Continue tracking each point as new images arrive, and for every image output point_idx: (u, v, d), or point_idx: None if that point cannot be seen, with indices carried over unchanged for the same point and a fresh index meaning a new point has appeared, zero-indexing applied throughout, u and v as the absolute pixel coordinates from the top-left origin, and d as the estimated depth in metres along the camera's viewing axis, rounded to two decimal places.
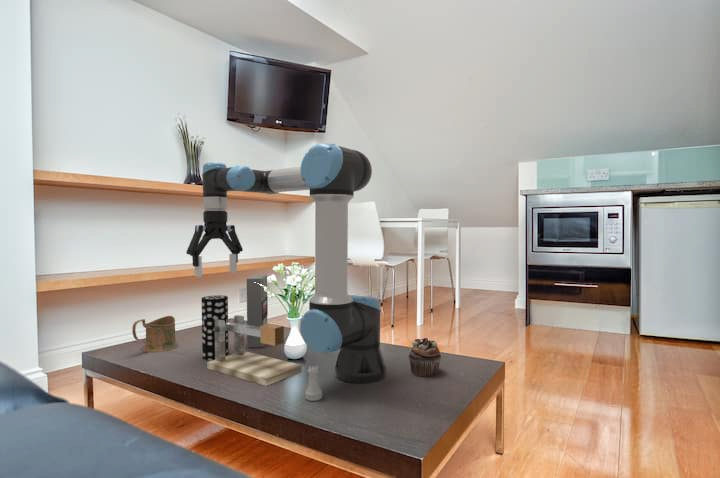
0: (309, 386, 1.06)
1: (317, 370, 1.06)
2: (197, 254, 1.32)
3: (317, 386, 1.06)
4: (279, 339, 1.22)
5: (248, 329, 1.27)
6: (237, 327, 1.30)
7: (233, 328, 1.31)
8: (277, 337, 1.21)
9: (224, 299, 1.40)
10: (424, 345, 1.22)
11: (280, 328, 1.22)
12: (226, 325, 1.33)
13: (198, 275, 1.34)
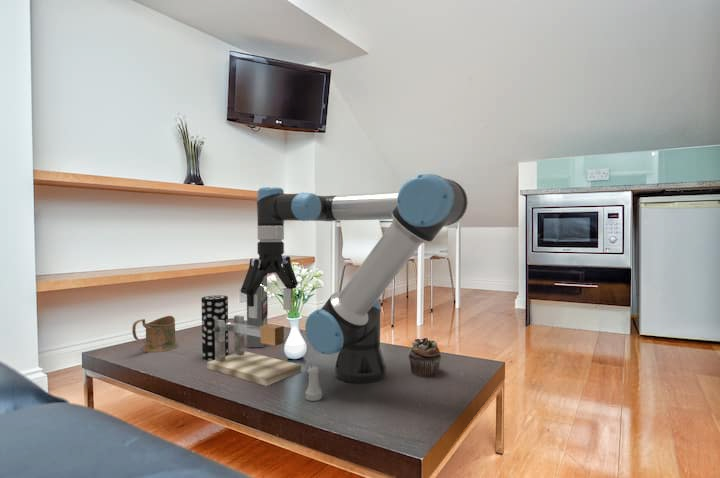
0: (309, 386, 1.06)
1: (317, 370, 1.06)
2: (253, 293, 1.16)
3: (317, 386, 1.06)
4: (279, 339, 1.22)
5: (248, 329, 1.27)
6: (237, 327, 1.30)
7: (233, 328, 1.31)
8: (277, 337, 1.21)
9: (224, 299, 1.40)
10: (424, 345, 1.22)
11: (280, 328, 1.22)
12: (226, 325, 1.33)
13: (253, 316, 1.17)
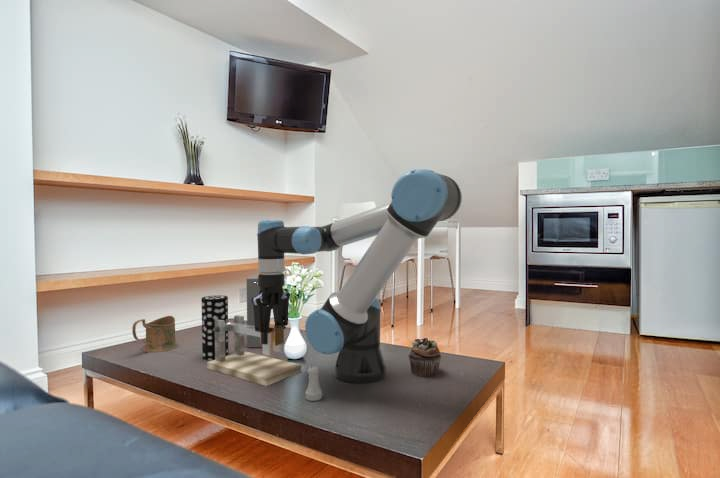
0: (309, 386, 1.06)
1: (317, 370, 1.06)
2: (266, 331, 1.20)
3: (317, 386, 1.06)
4: (279, 339, 1.22)
5: (248, 329, 1.27)
6: (237, 327, 1.30)
7: (233, 328, 1.31)
8: (277, 337, 1.21)
9: (224, 299, 1.40)
10: (424, 345, 1.22)
11: (280, 328, 1.22)
12: (226, 325, 1.33)
13: (267, 353, 1.21)
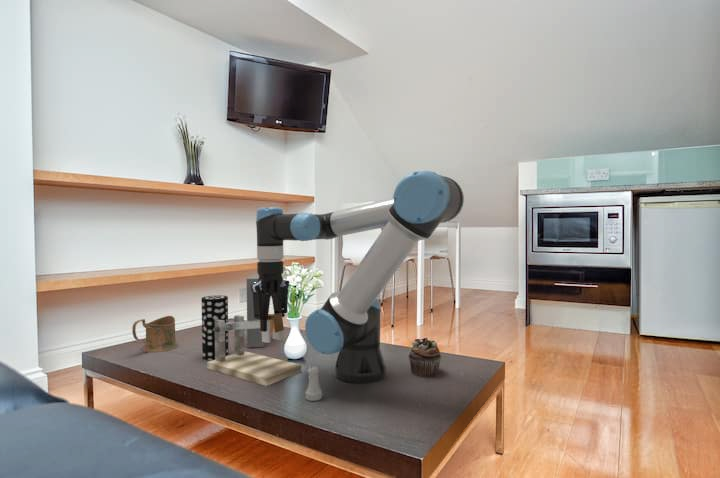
0: (309, 386, 1.06)
1: (317, 370, 1.06)
2: (266, 318, 1.20)
3: (317, 386, 1.06)
4: (278, 325, 1.22)
5: (247, 323, 1.27)
6: (237, 324, 1.30)
7: (233, 326, 1.31)
8: (276, 324, 1.21)
9: (224, 299, 1.40)
10: (424, 345, 1.22)
11: (278, 315, 1.22)
12: (226, 325, 1.33)
13: (266, 341, 1.21)
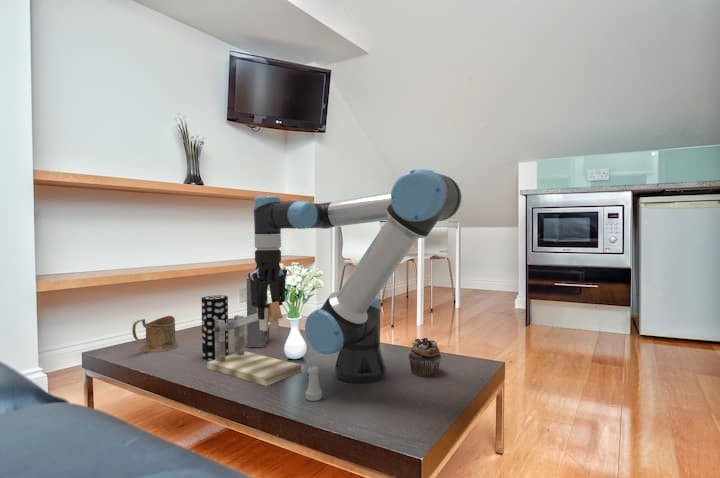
0: (309, 386, 1.06)
1: (317, 370, 1.06)
2: (263, 306, 1.21)
3: (317, 386, 1.06)
4: (276, 313, 1.22)
5: (246, 317, 1.27)
6: (236, 321, 1.30)
7: (233, 324, 1.31)
8: (274, 311, 1.22)
9: (224, 299, 1.40)
10: (424, 345, 1.22)
11: (275, 303, 1.23)
12: (226, 325, 1.33)
13: (264, 329, 1.22)
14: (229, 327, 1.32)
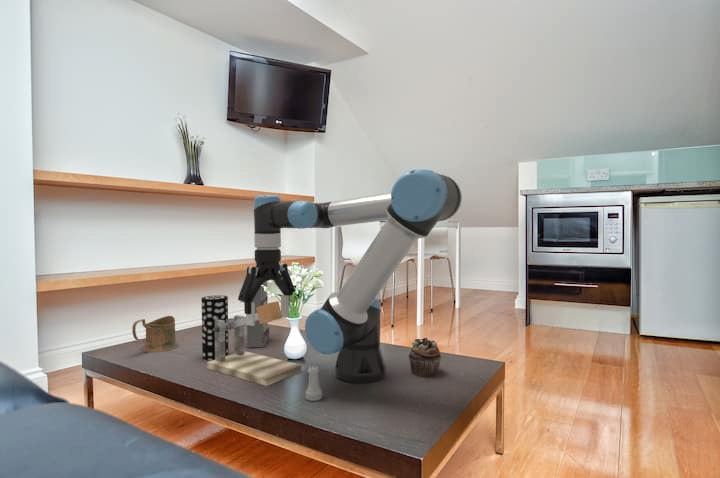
0: (309, 386, 1.06)
1: (317, 370, 1.06)
2: (250, 300, 1.17)
3: (317, 386, 1.06)
4: (276, 313, 1.22)
5: None
6: (236, 321, 1.30)
7: (233, 324, 1.31)
8: (274, 311, 1.22)
9: (224, 299, 1.40)
10: (424, 345, 1.22)
11: (275, 303, 1.23)
12: (226, 325, 1.33)
13: (250, 324, 1.18)
14: (229, 327, 1.32)
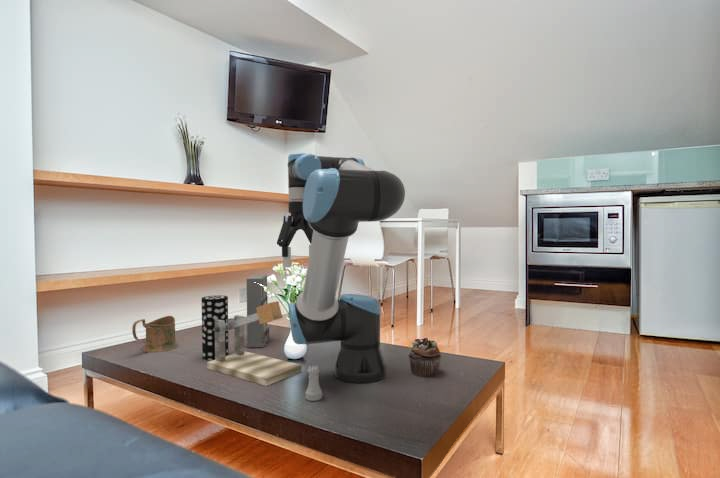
0: (309, 386, 1.06)
1: (317, 370, 1.06)
2: (287, 244, 1.33)
3: (317, 386, 1.06)
4: (276, 313, 1.22)
5: (246, 317, 1.27)
6: (236, 321, 1.30)
7: (233, 324, 1.31)
8: (274, 311, 1.22)
9: (224, 299, 1.40)
10: (424, 345, 1.22)
11: (275, 303, 1.23)
12: (226, 325, 1.33)
13: (287, 265, 1.34)
14: (229, 327, 1.32)
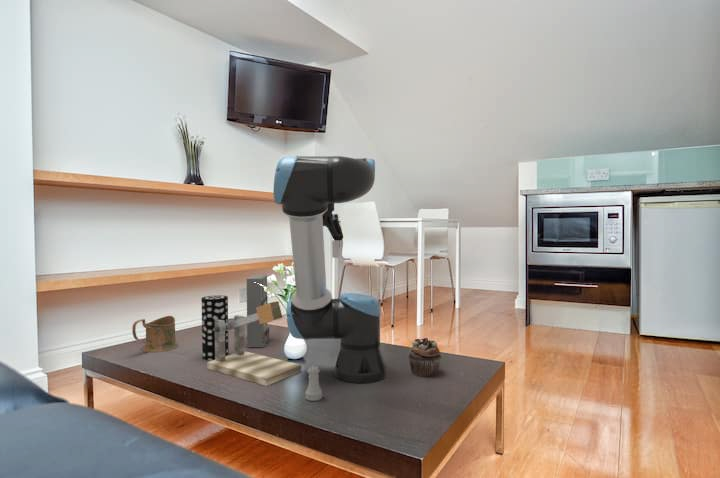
0: (309, 386, 1.06)
1: (317, 370, 1.06)
2: None
3: (317, 386, 1.06)
4: (276, 313, 1.22)
5: (246, 317, 1.27)
6: (236, 321, 1.30)
7: (233, 324, 1.31)
8: (274, 311, 1.22)
9: (224, 299, 1.40)
10: (424, 345, 1.22)
11: (275, 303, 1.23)
12: (226, 325, 1.33)
13: None
14: (229, 327, 1.32)
